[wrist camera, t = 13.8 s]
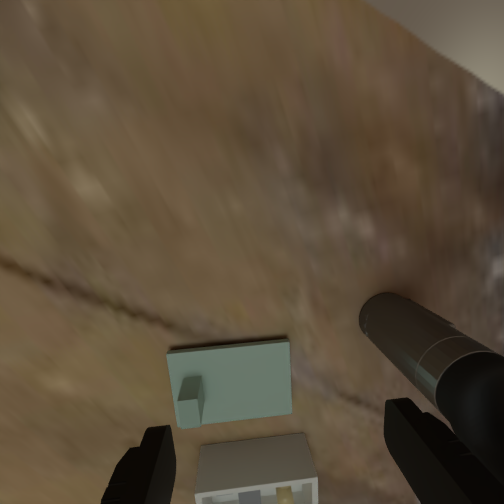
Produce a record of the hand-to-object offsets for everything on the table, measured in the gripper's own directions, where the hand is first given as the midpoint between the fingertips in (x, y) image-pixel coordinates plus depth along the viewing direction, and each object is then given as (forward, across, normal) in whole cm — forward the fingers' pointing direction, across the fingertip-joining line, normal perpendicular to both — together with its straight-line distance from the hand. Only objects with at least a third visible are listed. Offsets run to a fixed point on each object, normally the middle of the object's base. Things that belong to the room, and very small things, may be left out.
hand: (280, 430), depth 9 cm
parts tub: (+32, +1, +44) cm, 54 cm away
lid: (+33, +4, +23) cm, 40 cm away
